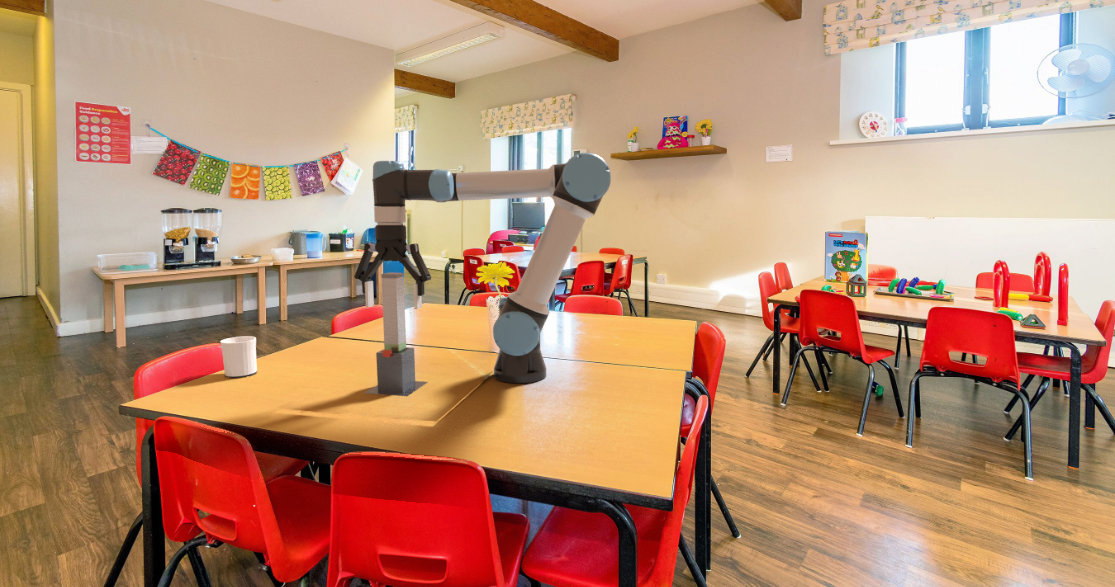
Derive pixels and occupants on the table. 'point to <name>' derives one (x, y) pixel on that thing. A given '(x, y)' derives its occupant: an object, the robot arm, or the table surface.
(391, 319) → the column
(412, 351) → the stand housing
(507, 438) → the table surface
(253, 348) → the mug
